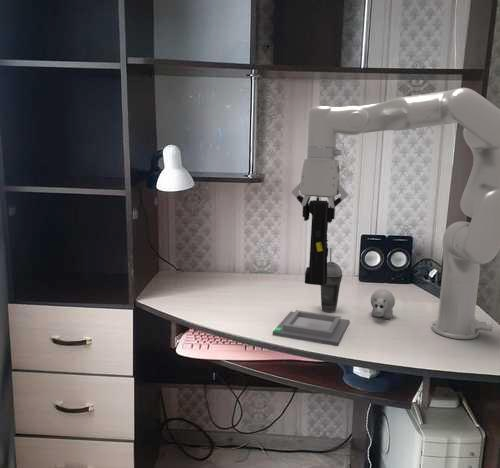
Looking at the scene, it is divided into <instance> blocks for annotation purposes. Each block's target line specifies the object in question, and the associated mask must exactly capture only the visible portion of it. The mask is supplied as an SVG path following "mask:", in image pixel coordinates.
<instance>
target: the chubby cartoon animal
mask: <svg viewBox="0 0 500 468" xmlns="http://www.w3.org/2000/svg"><path fill="white" fill-rule="evenodd" d="M370 304H371V307H372V310H371V316H372V317H374V318H378V317H379V318H381V317H382V318H383V319H384V320H385V319H386V320H388V319H391V318H392V316H393V313H394V310H393V308H394V307H395V304H396V299H395V296H394V295H393V293H392V292H391V291H390V290H388V289H382V288H381V289H378V290H375V291H374V292H373V293H372V295H371V296H370Z"/></svg>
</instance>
